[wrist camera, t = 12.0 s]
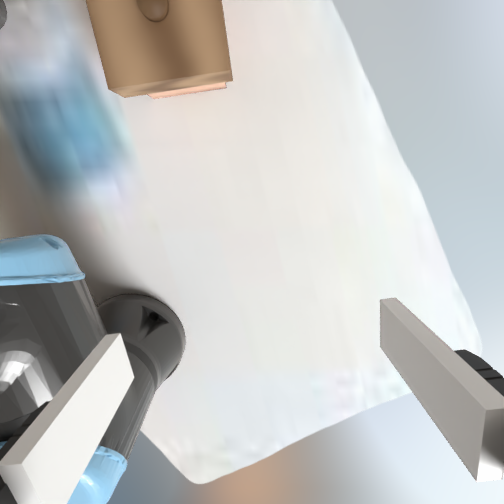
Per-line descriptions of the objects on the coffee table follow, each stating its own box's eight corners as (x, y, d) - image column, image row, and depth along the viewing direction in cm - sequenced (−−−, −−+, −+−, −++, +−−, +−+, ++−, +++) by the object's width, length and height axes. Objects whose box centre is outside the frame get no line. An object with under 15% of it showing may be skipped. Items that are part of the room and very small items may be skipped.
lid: (124, 97, 29) (104, 86, 25) (91, -39, 26) (61, -77, 22) (232, 80, 28) (230, 67, 24) (213, -60, 25) (206, -103, 21)
